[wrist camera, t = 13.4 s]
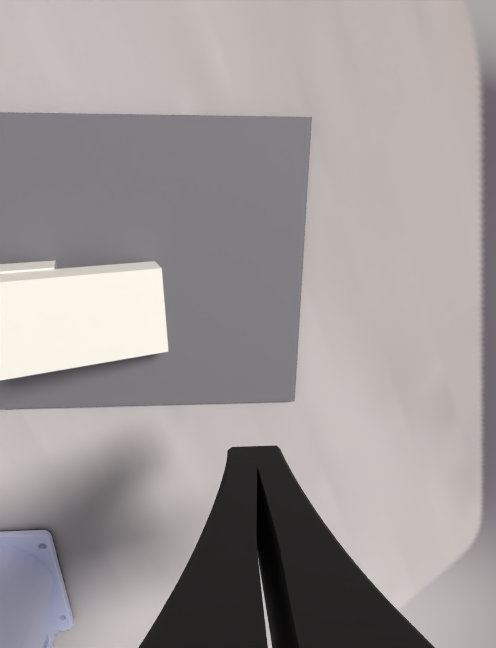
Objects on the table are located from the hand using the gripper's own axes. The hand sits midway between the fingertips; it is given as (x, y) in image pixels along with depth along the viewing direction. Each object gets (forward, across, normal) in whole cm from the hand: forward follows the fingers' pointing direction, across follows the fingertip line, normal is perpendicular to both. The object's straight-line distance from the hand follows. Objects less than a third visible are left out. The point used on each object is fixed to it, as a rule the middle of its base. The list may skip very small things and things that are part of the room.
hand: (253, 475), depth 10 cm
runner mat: (+10, +11, -3) cm, 15 cm away
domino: (+9, +4, -2) cm, 10 cm away
